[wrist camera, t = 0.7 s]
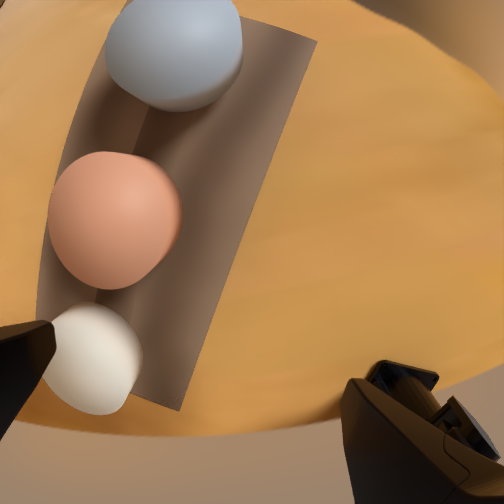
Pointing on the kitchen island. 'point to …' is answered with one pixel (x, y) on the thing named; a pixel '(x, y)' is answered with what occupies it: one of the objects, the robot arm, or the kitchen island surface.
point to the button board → (183, 198)
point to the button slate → (176, 51)
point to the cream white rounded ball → (93, 359)
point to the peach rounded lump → (113, 218)
